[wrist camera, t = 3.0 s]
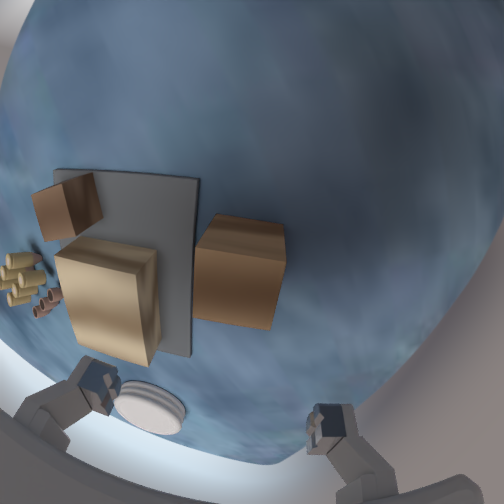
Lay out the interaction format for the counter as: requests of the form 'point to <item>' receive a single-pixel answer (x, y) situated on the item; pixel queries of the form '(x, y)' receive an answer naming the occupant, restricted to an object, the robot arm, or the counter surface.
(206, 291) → the oak block
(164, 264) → the mat
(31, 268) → the ammunition
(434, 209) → the counter surface
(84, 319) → the base block
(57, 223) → the block
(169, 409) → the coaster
